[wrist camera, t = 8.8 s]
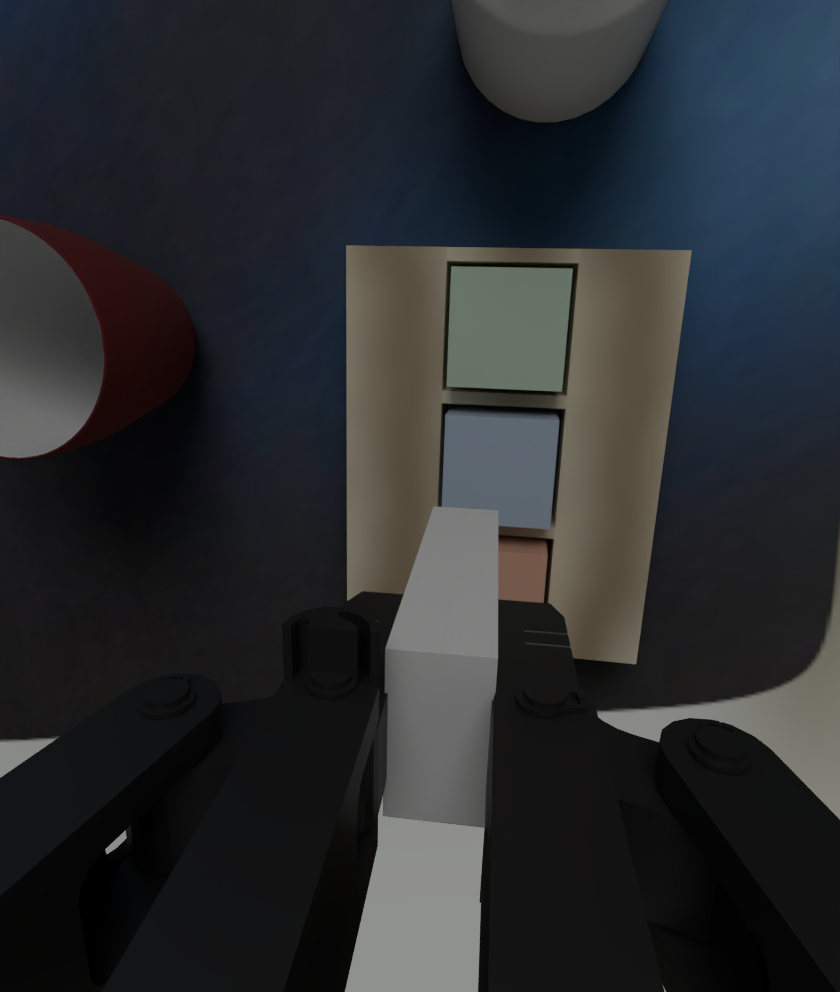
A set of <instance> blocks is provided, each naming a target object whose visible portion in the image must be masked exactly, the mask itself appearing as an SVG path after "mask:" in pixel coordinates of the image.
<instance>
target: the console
mask: <svg viewBox="0 0 840 992" xmlns="http://www.w3.org/2000/svg"><path fill="white" fill-rule="evenodd" d="M691 252H692V250H625V249H555V248H484V247H413V246H346V306H347V601H348V600H350V599H351V598H353V597H354V596H356V595H357V594H359V593H361V592H362V591H367V592H380V593H394V594H404V592H405V589H406V586H407V583H408V580H409V577H410V574H411V571H412V569H413V566H414V563H415V560H416V557H417V554H418V551H419V548H420V545H421V542H422V539H423V536H424V533H425V530H426V527H427V524H428V522H429V519H430V516H431V513H432V510H433V507H434V506H435V507H442V487H443V462H444V437H445V415H446V413H447V412H448V411H449V410H450V408H451V407H452V406H474V407H495V408H517V409H538V410H555V412H556V414H557V416H558V418H559V432H558V443H557V455H556V466H555V477H554V489H553V500H552V512H551V523H550V529H536V528H522V527H508V526H498V535H509V536H523V537H536V538H545V540H546V547H547V554H548V557H547V569H546V580H545V591H544V603H550V604H551V605H552V606H553V607H554V608H555V609H556V610H557V611H559V612H560V613H561V614H562V615H563V616H564V618H565V623H566V627H567V632H568V633H567V635H568V636H569V641H570V648H571V650H572V655H573V658H577V659H587V660H598V661H608V662H618V663H629V664H636V662H637V654H638V647H639V639H640V632H641V624H642V617H643V609H644V602H645V595H646V587H647V580H648V572H649V565H650V557H651V550H652V542H653V535H654V527H655V520H656V513H657V505H658V498H659V490H660V483H661V475H662V468H663V460H664V453H665V446H666V438H667V431H668V423H669V416H670V408H671V401H672V393H673V386H674V378H675V371H676V364H677V356H678V349H679V341H680V334H681V326H682V319H683V311H684V304H685V296H686V289H687V282H688V274H689V267H690V259H691ZM451 266H460V267H515V268H570V269H573V273H572V284H571V295H570V307H569V318H568V329H567V341H566V352H565V364H564V375H563V386H562V392H559V391H536V390H513V389H490V388H467V387H446V386H447V361H448V335H449V310H450V284H451Z"/></svg>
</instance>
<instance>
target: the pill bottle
mask: <svg viewBox="0 0 840 992" xmlns="http://www.w3.org/2000/svg"><path fill="white" fill-rule="evenodd" d="M449 2H450V7H451V11H452V16H453V21H454V26H455V31H456V36H457V41H458V46H459V49H460V52H461V55H462V59H463V62H464V65H465V68H466V70H467V71H468V73H469V75H470V77H471V79H472V81H473V82H474V84H475V86H476V87H477V88H478V89H479V90H480V92H481V93H482V94H483V95H484V96H485V97H486V99H487V100H488V101H490V102H491V103H492V104H494V105H495V106H496V107H498V108H499V109H500V110H502V111H503V112H505V113H508V114H510V115H512V116H514V117H516V118H518V119H522V120H527V121H532V122H536V123H549V122H560V121H564V120H569V119H573V118H576V117H579V116H581V115H583V114H585V113H587V112H590V111H592V110H594V109H595V108H597V107H598V106H600V105H601V104H602V103H604V102H605V101H607V100H608V99H610V98H611V97H612V96H613V95H614V94H615V93H616V92H617V91H618V90H619V89H620V88H621V87H622V86H623V85H624V84H625V83H626V82H627V80H628V79H629V77H630V76H631V74H632V73H633V72H634V70H635V69H636V67H637V66H638V64H639V63H640V61H641V59H642V57H643V55H644V53H645V50H646V48H647V46H648V44H649V42H650V40H651V38H652V36H653V34H654V32H655V29H656V27H657V25H658V23H659V21H660V19H661V17H662V15H663V13H664V11H665V8H666V6H667V4H668V2H669V0H449Z"/></svg>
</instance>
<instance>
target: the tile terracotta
mask: <svg viewBox="0 0 840 992" xmlns="http://www.w3.org/2000/svg"><path fill="white" fill-rule="evenodd" d="M547 557H548V554H547V547H546V540H545V538H536V537H523V536H509V535H498V599H499V600H512V601H525V602H539V603H544V591H545V580H546V569H547Z"/></svg>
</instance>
